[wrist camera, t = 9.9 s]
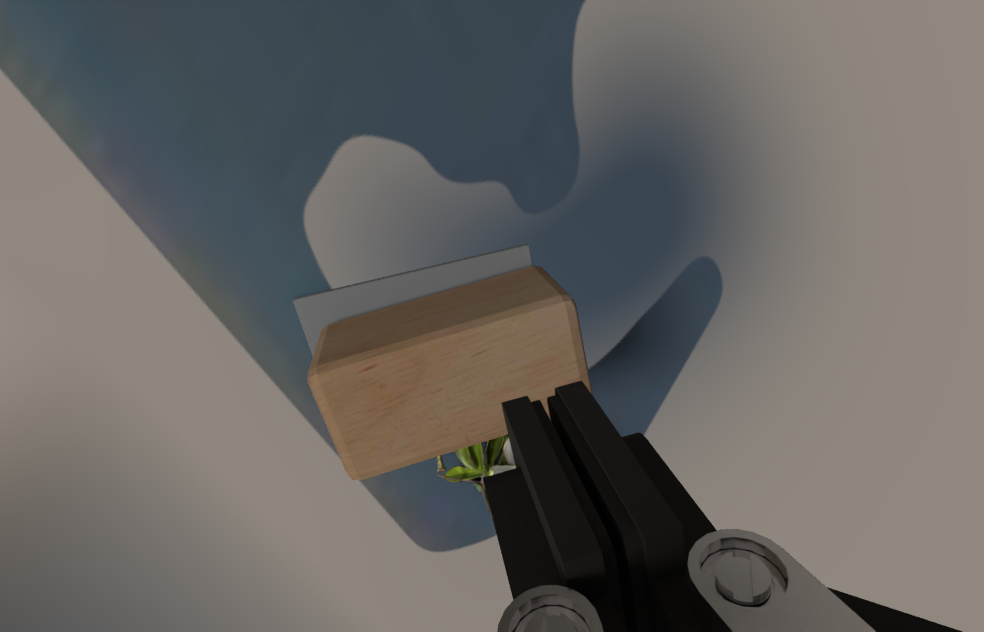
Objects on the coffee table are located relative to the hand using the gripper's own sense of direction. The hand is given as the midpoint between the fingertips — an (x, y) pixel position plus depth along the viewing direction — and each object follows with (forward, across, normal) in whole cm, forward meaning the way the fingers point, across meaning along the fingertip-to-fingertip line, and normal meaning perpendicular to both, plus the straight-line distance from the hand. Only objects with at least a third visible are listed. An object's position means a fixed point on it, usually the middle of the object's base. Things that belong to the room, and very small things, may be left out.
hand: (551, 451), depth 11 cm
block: (+30, -8, +13) cm, 34 cm away
